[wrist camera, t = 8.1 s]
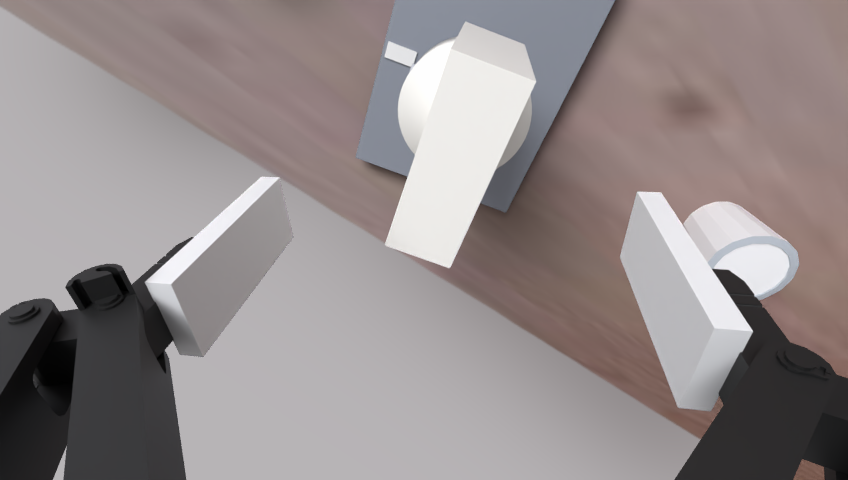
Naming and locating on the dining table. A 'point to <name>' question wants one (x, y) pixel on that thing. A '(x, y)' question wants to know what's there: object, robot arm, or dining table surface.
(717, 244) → the shot glass
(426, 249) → the white round-based slab
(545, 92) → the post plinth
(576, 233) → the dining table surface
